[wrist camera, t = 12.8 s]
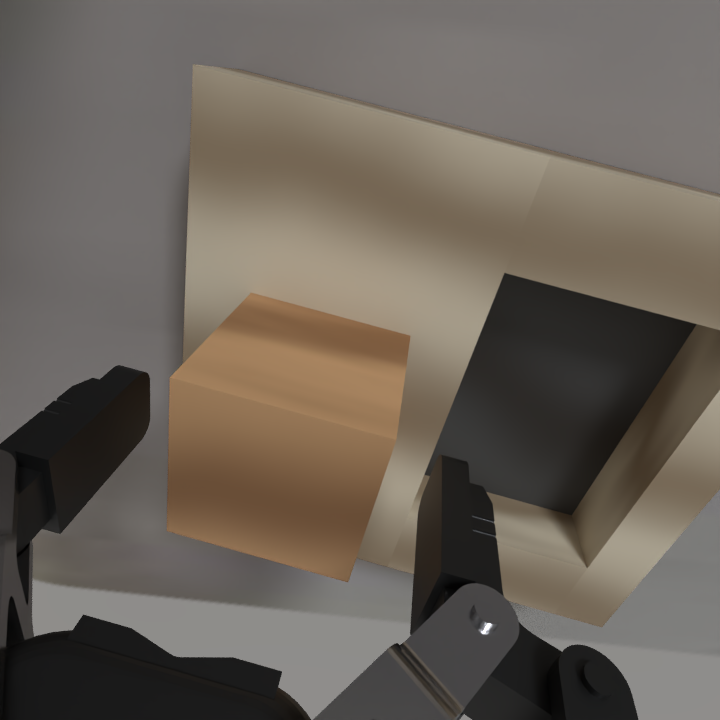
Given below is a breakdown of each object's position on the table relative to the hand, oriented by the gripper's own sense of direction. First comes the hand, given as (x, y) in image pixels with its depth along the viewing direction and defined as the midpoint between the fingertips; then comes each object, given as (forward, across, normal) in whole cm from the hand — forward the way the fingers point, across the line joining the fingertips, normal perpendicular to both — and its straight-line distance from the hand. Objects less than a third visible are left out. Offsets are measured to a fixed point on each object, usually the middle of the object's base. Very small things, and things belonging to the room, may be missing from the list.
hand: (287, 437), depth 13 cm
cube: (+3, 0, 0) cm, 3 cm away
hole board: (+6, -4, 0) cm, 8 cm away
